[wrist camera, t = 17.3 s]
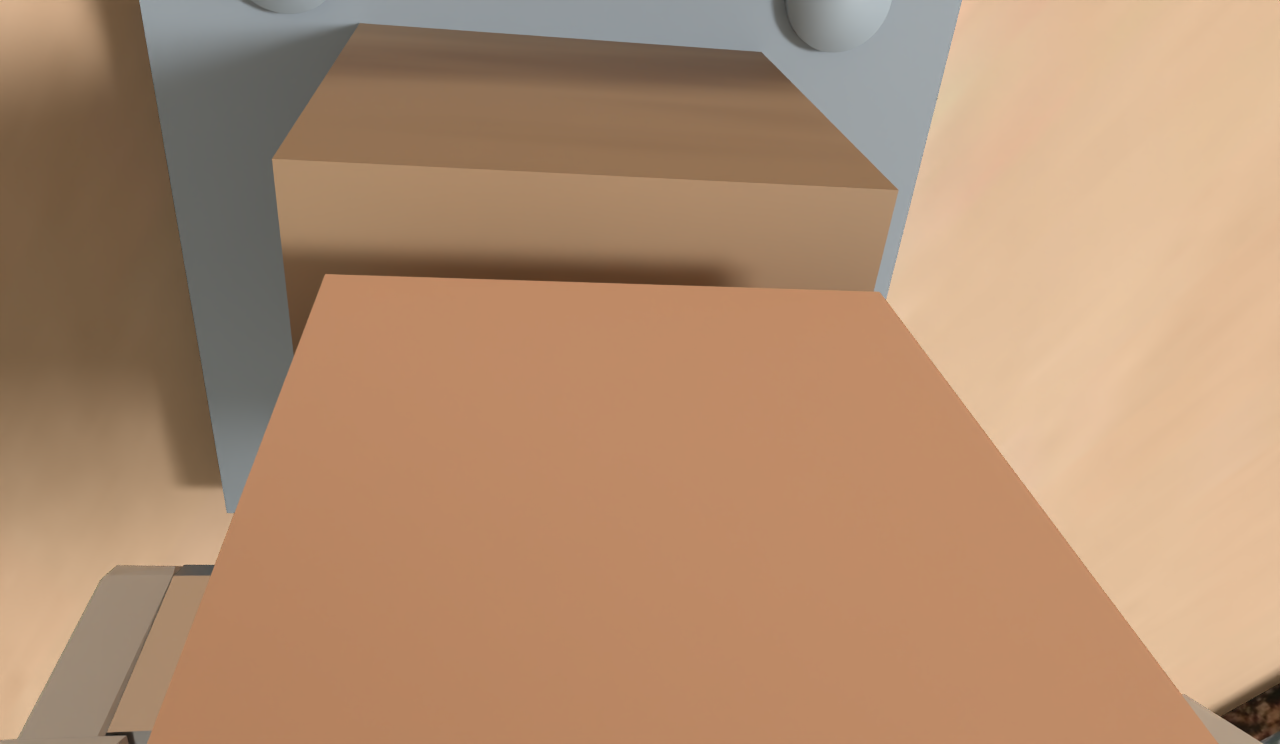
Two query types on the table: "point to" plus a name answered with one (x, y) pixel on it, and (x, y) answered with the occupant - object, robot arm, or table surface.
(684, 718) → the block
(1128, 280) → the table surface
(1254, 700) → the topographical map
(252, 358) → the plate
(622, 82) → the block
